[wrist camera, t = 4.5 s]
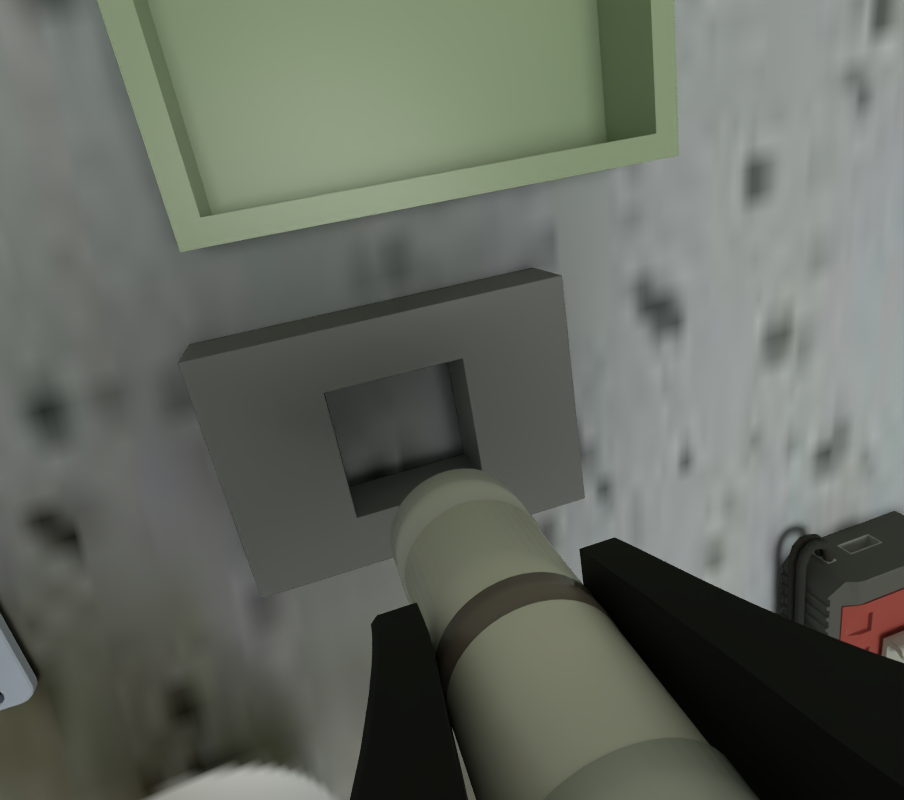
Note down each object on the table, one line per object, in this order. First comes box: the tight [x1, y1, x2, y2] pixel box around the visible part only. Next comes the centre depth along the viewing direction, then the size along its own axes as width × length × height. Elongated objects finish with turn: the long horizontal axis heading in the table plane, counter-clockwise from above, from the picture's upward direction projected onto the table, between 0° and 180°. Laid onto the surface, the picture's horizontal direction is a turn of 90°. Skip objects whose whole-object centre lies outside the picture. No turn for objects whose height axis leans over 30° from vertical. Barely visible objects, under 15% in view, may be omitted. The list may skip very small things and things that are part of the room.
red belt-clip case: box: [781, 511, 904, 663], centre depth 27 cm, size 9×4×20 cm
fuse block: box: [178, 268, 585, 598], centre depth 17 cm, size 10×7×2 cm
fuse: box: [390, 469, 760, 800], centre depth 8 cm, size 3×3×8 cm
